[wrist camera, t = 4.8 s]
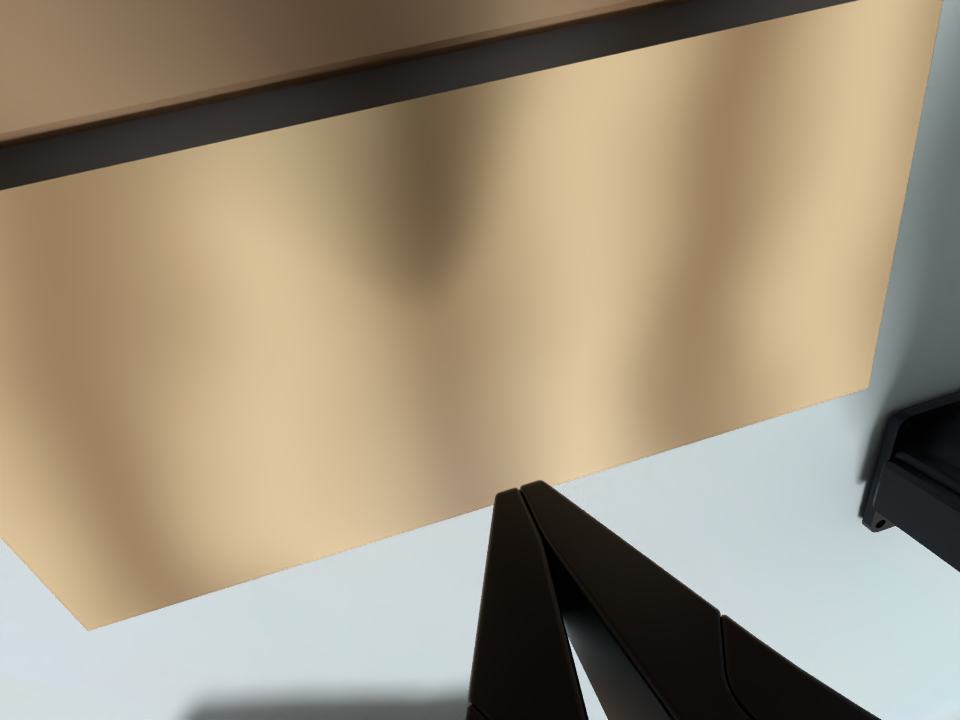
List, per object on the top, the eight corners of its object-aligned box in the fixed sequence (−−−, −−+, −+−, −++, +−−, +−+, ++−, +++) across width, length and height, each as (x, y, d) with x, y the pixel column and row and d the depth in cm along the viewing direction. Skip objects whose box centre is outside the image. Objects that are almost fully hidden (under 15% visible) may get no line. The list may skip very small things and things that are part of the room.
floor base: (939, -796, 7) (1218, -1264, 4) (789, 361, 16) (856, 396, 14) (-868, -724, 5) (-1977, -1498, 2) (148, 553, 14) (104, 631, 12)
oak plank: (873, 5, 10) (946, -20, 9) (822, 367, 14) (868, 388, 13) (-164, 236, 8) (-269, 250, 7) (119, 580, 12) (88, 631, 11)
